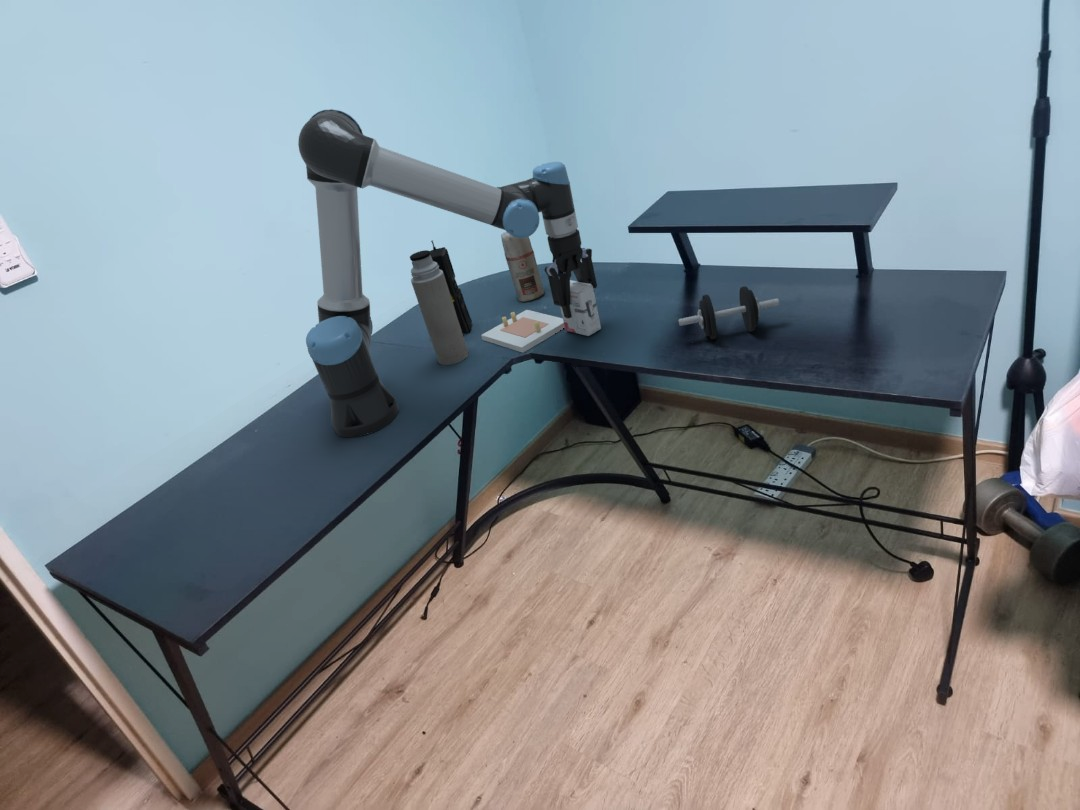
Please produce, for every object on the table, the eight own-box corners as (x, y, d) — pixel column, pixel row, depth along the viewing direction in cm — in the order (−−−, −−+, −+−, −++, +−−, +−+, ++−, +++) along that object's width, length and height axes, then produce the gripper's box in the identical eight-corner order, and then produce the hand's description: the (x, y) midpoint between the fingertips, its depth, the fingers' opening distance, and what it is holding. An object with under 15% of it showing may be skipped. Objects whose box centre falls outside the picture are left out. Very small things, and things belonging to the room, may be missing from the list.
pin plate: (523, 352, 173) (519, 338, 171) (482, 340, 186) (478, 326, 184) (569, 325, 181) (566, 310, 179) (528, 314, 193) (524, 301, 191)
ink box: (563, 331, 177) (554, 286, 172) (577, 323, 180) (569, 279, 174) (588, 337, 171) (579, 291, 165) (602, 328, 174) (594, 283, 168)
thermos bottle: (451, 348, 185) (418, 247, 172) (474, 351, 181) (442, 246, 167) (432, 363, 180) (396, 259, 166) (455, 366, 175) (420, 259, 162)
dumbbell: (773, 314, 160) (770, 273, 156) (786, 332, 152) (783, 289, 147) (678, 334, 163) (672, 294, 158) (686, 353, 154) (680, 311, 149)
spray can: (512, 303, 203) (494, 237, 193) (521, 292, 209) (504, 226, 200) (540, 301, 200) (523, 232, 190) (548, 289, 206) (532, 222, 197)
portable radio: (470, 334, 191) (443, 246, 178) (448, 339, 191) (420, 251, 179) (473, 322, 197) (447, 236, 185) (452, 327, 198) (425, 241, 186)
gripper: (544, 248, 156) (565, 341, 167) (601, 219, 165) (617, 310, 176) (523, 245, 162) (545, 336, 173) (579, 217, 170) (596, 306, 182)
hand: (581, 323), depth 175 cm, fingers closed on ink box, 5 cm apart
